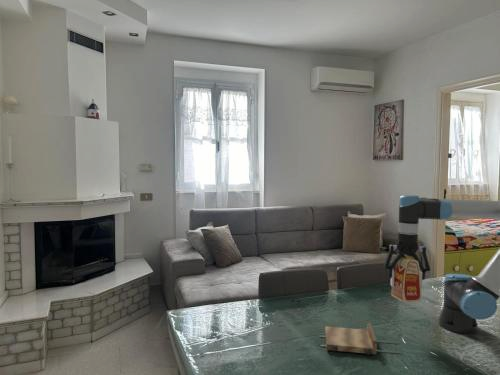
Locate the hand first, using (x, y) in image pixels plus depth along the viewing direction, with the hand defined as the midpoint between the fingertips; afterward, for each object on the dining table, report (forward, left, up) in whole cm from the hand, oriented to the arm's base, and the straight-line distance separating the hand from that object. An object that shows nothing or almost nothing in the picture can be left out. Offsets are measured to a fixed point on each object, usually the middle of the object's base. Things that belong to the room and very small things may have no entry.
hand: (405, 286), depth 152 cm
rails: (+19, +12, -21) cm, 31 cm away
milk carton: (0, 0, -5) cm, 5 cm away
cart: (+23, +12, -21) cm, 33 cm away
